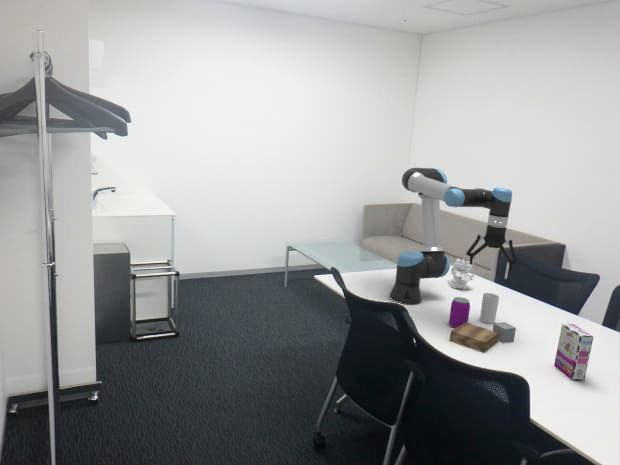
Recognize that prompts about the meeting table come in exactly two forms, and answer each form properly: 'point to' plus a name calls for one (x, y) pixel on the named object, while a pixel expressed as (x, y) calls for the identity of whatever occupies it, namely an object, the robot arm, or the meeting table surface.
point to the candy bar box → (573, 351)
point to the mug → (489, 307)
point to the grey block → (504, 332)
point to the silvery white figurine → (461, 274)
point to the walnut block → (474, 336)
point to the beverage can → (459, 311)
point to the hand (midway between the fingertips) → (488, 275)
